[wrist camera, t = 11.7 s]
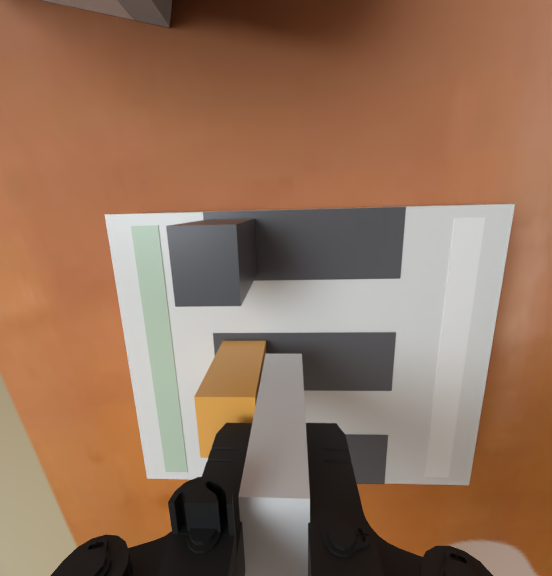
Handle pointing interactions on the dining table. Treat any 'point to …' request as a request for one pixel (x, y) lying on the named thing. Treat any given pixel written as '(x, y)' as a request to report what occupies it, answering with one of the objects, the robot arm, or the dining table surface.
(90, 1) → the circuit breaker
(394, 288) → the panel
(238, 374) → the block
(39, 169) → the dining table surface
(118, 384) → the dining table surface
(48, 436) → the dining table surface
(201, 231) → the block
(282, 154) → the dining table surface
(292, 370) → the robot arm
